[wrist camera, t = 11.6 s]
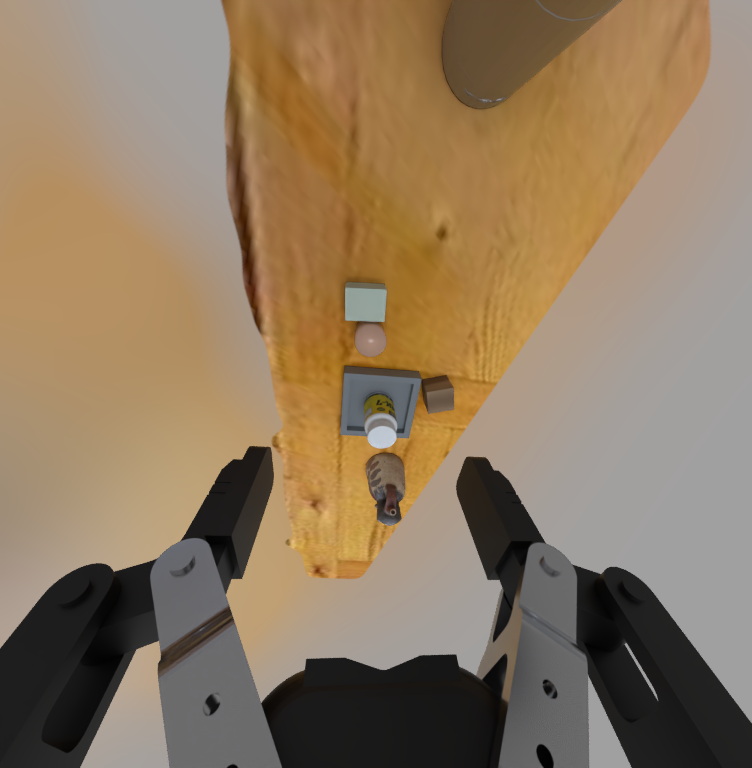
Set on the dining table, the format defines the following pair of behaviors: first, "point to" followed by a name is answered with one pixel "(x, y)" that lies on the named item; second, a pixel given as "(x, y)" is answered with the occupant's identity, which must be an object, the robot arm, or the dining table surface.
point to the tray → (372, 380)
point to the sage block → (365, 301)
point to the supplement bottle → (380, 420)
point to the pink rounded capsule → (370, 338)
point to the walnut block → (438, 394)
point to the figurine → (386, 486)
